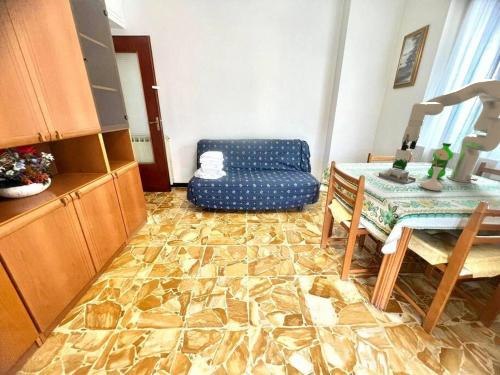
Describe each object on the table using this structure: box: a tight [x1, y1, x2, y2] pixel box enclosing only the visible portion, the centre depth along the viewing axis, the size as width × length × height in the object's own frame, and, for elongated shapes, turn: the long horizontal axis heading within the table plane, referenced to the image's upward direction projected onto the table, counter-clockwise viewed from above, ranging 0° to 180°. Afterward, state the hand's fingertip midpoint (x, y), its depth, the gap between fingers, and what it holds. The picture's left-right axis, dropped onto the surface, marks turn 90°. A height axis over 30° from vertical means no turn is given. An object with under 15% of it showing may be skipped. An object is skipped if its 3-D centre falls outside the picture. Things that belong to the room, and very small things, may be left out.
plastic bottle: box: [427, 142, 454, 179], centre depth 147 cm, size 10×10×25 cm
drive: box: [388, 167, 410, 180], centre depth 146 cm, size 10×6×6 cm, turn 26°
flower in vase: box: [419, 148, 449, 191], centre depth 126 cm, size 13×11×25 cm
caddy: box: [378, 170, 417, 185], centre depth 146 cm, size 18×13×4 cm
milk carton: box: [391, 145, 412, 171], centre depth 161 cm, size 9×9×20 cm
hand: (407, 149), depth 140 cm, fingers open, 9 cm apart
